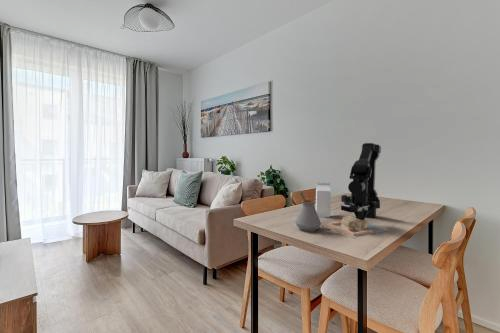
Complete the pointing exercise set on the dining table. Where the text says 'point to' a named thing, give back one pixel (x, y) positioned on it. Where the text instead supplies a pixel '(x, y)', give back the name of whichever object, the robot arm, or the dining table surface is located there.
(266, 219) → the dining table surface
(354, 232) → the board
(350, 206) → the robot arm
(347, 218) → the t block
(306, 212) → the coffee pot
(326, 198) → the milk carton
